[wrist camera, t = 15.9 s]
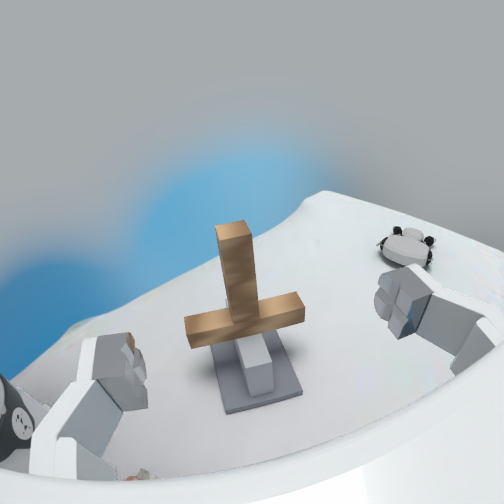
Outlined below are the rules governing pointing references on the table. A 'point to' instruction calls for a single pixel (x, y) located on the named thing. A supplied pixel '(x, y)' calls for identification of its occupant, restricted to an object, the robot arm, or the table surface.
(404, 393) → the table surface
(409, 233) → the robot toy
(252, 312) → the wooden t-shaped block
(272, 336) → the ridge stand
